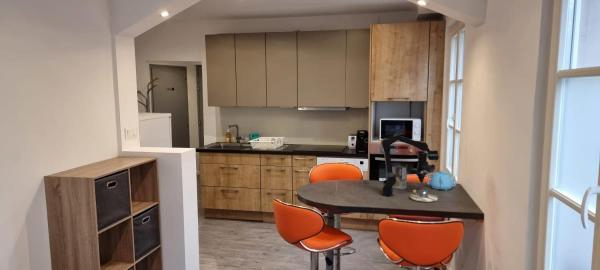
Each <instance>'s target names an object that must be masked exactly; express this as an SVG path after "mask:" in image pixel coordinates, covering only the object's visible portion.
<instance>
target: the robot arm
mask: <svg viewBox="0 0 600 270" xmlns="http://www.w3.org/2000/svg"><path fill="white" fill-rule="evenodd" d="M396 142H401V143H403V144H407V145H411V146H412V147H414V148H416V151H415V154H417V161H416V163H417V166H416V167H415V168H410V169H409V174H412V175H417V178H418V180H419V183H423V182H424V179H425V177H426V175H429V174H431V173H434V170H436V165H435V164H429V162H428V161H439V159H440V158H439V157H440V156H439V150H436V149H435V150H430V148H429V145H428V143H426V142H425V141H422V140H414V139H411V138H408V137H406V136H405V137H404V136H401V135H400V134H398V133H397V134H394V135H391V136H388V137H387V138H386V137H385V138H382V139H381V140H380V145H381V148H382V150H383V155H384V162H385V170H386V174H385V179H384V181H382V185H383V186H382V193H381V194H380V195H381V196H383V197H392V196H394V194H393V192H394V191H393V189H394V188H392V187H393V185H394V184H395V183H396V174H395V173H393V171H392V167H393V165H392V158H391V157H392V156H391V146H392V145H393V144H394V143H396Z"/></svg>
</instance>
